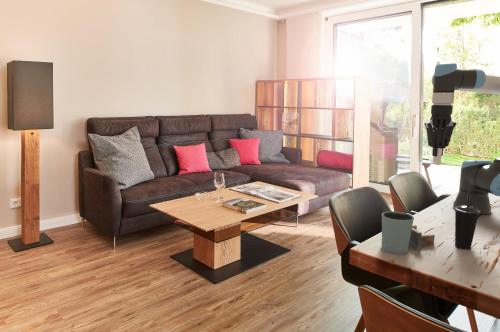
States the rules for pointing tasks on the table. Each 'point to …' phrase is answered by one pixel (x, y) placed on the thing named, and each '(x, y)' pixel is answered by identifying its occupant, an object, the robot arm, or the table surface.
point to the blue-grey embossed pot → (396, 231)
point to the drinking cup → (465, 225)
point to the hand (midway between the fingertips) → (436, 164)
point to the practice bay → (420, 239)
